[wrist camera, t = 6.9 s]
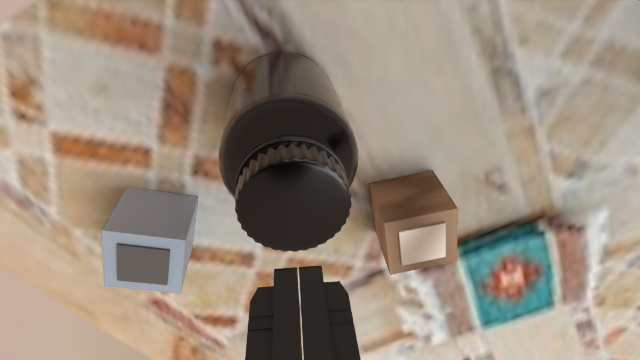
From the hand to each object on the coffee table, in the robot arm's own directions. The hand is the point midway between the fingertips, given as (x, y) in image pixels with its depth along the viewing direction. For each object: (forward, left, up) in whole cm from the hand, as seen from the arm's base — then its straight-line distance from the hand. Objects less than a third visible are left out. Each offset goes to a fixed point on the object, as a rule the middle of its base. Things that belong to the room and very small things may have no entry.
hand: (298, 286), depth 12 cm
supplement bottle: (0, 0, -16) cm, 16 cm away
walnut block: (-9, +9, -16) cm, 20 cm away
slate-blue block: (+10, +9, -16) cm, 21 cm away
